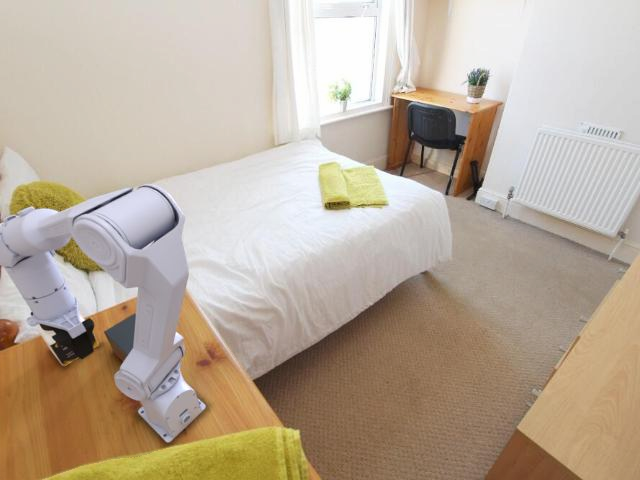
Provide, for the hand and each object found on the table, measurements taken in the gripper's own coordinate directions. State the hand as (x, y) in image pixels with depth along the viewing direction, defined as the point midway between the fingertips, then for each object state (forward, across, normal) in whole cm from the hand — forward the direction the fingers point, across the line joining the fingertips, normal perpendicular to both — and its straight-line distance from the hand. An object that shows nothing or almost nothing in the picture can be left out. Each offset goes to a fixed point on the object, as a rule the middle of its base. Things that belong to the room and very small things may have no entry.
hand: (77, 344), depth 61 cm
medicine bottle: (+11, -12, +1) cm, 16 cm away
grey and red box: (+4, +1, +8) cm, 9 cm away
